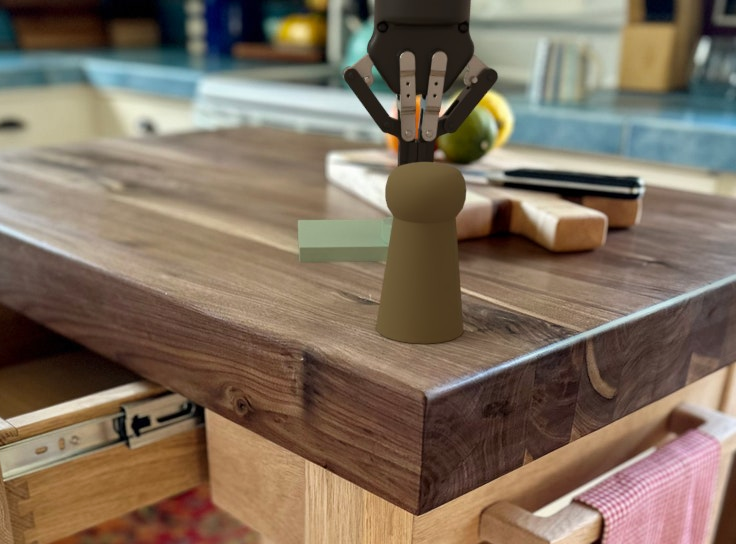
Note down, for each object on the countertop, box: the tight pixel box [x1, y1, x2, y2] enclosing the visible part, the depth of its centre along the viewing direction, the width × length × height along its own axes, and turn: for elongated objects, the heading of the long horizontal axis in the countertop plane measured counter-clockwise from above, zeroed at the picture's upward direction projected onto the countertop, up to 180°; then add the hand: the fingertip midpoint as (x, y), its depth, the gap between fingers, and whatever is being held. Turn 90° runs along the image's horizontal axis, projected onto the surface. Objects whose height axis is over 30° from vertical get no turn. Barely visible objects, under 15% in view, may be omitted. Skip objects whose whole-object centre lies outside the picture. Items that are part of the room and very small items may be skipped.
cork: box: [375, 161, 467, 345], centre depth 57 cm, size 6×6×11 cm
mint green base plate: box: [297, 215, 393, 263], centre depth 78 cm, size 13×11×3 cm
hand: (414, 185), depth 74 cm, fingers closed
